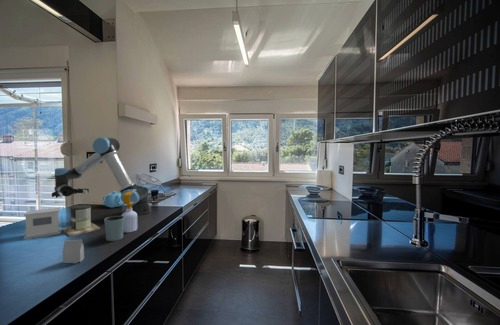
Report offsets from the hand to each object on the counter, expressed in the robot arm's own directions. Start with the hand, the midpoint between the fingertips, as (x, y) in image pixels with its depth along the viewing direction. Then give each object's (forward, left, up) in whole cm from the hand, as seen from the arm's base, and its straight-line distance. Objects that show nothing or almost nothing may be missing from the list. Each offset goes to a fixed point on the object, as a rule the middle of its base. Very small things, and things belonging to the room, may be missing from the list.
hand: (74, 194), depth 151 cm
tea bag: (-30, +50, -22) cm, 63 cm away
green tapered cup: (-35, +23, -22) cm, 47 cm away
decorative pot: (0, -54, -22) cm, 59 cm away
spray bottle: (-38, +10, -22) cm, 45 cm away
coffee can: (-8, +7, -21) cm, 23 cm away
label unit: (+9, +14, -22) cm, 27 cm away
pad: (-8, +7, -22) cm, 24 cm away
